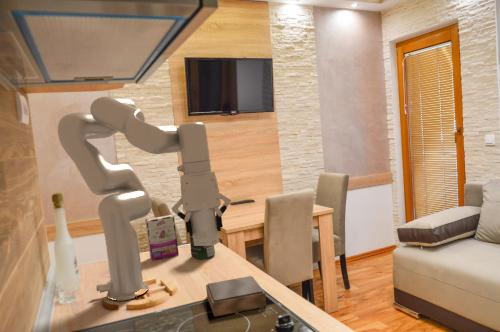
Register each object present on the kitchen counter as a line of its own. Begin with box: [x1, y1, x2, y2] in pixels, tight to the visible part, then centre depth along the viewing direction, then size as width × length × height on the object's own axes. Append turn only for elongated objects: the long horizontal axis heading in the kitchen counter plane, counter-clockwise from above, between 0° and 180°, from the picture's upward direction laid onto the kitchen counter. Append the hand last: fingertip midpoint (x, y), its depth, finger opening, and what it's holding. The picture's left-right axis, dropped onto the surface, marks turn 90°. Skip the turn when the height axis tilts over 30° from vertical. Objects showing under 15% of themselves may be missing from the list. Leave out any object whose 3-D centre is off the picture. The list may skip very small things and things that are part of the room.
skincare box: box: [190, 202, 220, 246], centre depth 109 cm, size 6×4×12 cm
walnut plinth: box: [205, 275, 267, 318], centre depth 110 cm, size 14×14×4 cm
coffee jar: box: [189, 235, 216, 260], centre depth 157 cm, size 10×8×19 cm
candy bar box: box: [144, 214, 179, 262], centre depth 162 cm, size 11×5×16 cm, turn 114°
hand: (205, 232), depth 109 cm, fingers closed on skincare box, 7 cm apart
